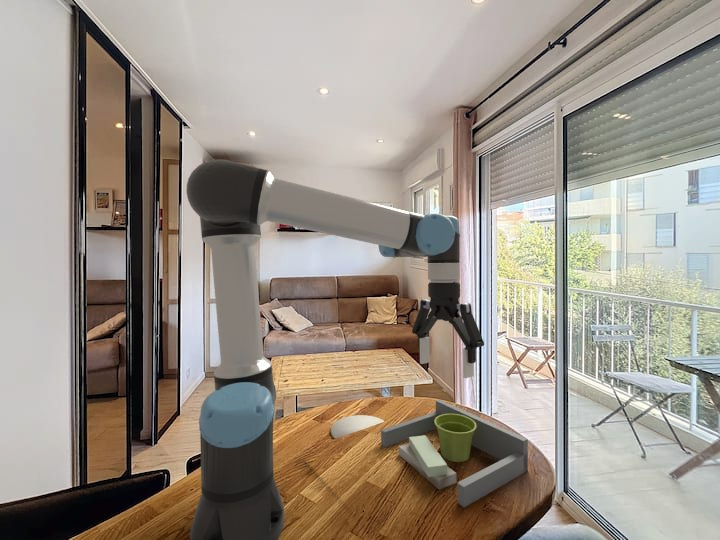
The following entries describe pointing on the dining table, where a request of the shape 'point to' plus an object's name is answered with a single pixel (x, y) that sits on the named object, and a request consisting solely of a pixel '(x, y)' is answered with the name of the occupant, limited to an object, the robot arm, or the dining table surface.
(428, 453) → the offcut top
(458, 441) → the plant pot
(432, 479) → the block
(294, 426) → the dining table surface
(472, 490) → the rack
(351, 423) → the mat
